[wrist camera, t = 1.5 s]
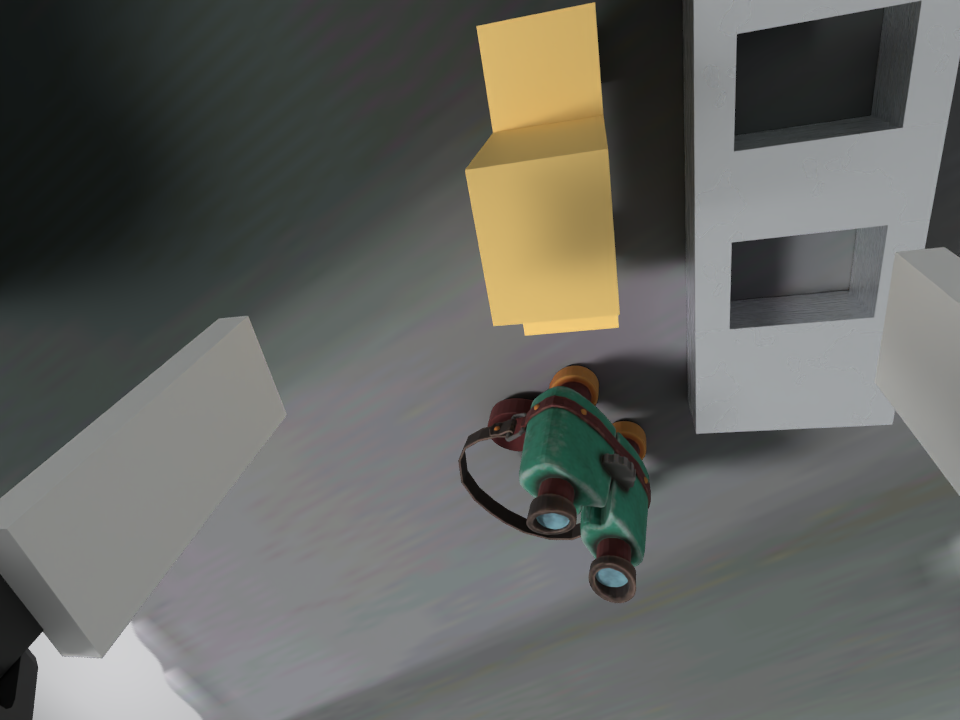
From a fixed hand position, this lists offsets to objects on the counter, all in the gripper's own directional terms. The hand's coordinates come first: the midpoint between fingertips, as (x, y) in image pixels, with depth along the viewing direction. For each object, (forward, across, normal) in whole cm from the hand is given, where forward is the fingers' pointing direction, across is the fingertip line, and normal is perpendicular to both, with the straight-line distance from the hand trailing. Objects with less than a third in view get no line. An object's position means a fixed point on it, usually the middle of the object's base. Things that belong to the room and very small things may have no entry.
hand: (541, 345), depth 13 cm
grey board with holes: (+18, +10, -2) cm, 21 cm away
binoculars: (+18, -2, -16) cm, 24 cm away
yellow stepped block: (+18, 0, 0) cm, 18 cm away
